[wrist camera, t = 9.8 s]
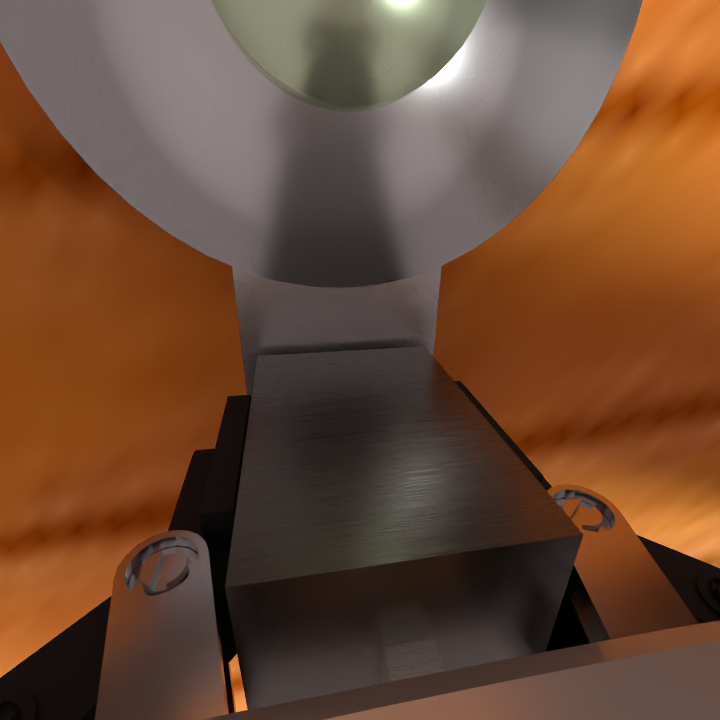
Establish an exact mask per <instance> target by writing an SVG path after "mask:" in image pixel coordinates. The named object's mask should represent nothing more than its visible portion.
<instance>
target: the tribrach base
mask: <svg viewBox="0 0 720 720" xmlns="http://www.w3.org/2000/svg"><path fill="white" fill-rule="evenodd" d="M641 4H642V0H0V43H1V45H2V46H3V48H4V50H5V51H6V53H7V55H8V57H9V58H10V60H11V62H12V63H13V65H14V67H15V68H16V70H17V72H18V73H19V75H20V77H21V79H22V80H23V82H24V84H25V85H26V87H27V88H28V90H29V91H30V92H31V94H32V95H33V96H34V98H35V99H36V101H37V102H38V103H39V105H40V106H41V107H42V109H43V110H44V112H45V113H46V114H47V116H48V117H49V118H50V120H51V121H52V123H53V124H54V125H55V127H56V128H57V129H58V131H59V132H60V134H61V135H62V136H63V137H64V138H65V139H66V140H67V141H68V143H69V144H70V145H71V146H72V147H73V148H74V149H75V150H76V152H77V153H78V154H79V155H80V156H81V157H82V158H83V159H84V161H85V162H86V163H87V164H88V165H89V166H90V167H91V168H92V170H93V171H94V172H95V173H96V174H97V175H98V176H99V177H100V178H101V179H103V180H104V181H105V182H106V183H107V184H108V185H109V186H110V187H111V188H112V189H113V190H115V191H116V192H117V193H118V194H119V195H120V196H121V197H122V198H123V199H124V200H125V201H127V202H128V203H129V204H130V205H131V206H132V207H133V208H135V209H136V210H137V211H139V212H140V213H141V214H143V215H144V216H145V217H147V218H148V219H150V220H151V221H152V222H154V223H155V224H156V225H158V226H159V227H160V228H162V229H163V230H165V231H166V232H167V233H169V234H170V235H172V236H174V237H175V238H177V239H179V240H181V241H182V242H184V243H186V244H187V245H189V246H191V247H193V248H194V249H196V250H198V251H200V252H201V253H203V254H205V255H207V256H209V257H211V258H214V259H216V260H218V261H221V262H223V263H225V264H228V265H230V266H232V271H233V279H234V287H235V296H236V304H237V312H238V321H239V329H240V337H241V346H242V354H243V363H244V371H245V379H246V388H247V395H251V397H252V392H253V385H254V378H255V370H256V363H257V356H265V355H282V354H300V353H317V352H334V351H351V350H368V349H385V348H403V347H420V346H425V348H426V349H427V350H428V351H429V352H430V354H431V355H432V356H433V353H434V343H435V332H436V321H437V311H438V300H439V289H440V278H441V268H442V265H444V264H446V263H448V262H450V261H452V260H454V259H456V258H458V257H460V256H462V255H464V254H465V253H467V252H469V251H471V250H473V249H474V248H476V247H477V246H479V245H480V244H482V243H483V242H484V241H486V240H487V239H489V238H490V237H492V236H493V235H495V234H496V233H498V232H499V231H500V230H502V229H503V228H504V227H505V226H506V225H507V224H509V223H510V222H511V221H512V220H513V219H514V218H515V217H517V216H518V215H519V214H520V213H521V212H522V211H523V210H525V209H526V208H527V207H528V206H529V205H530V204H531V203H532V202H533V200H534V199H535V198H536V197H537V196H538V195H539V194H540V193H541V192H542V191H543V190H544V189H545V187H546V186H547V185H548V184H549V183H550V182H551V181H552V180H553V179H554V177H555V176H556V175H557V173H558V172H559V171H560V169H561V168H562V167H563V165H564V164H565V163H566V161H567V160H568V159H569V157H570V156H571V155H572V153H573V152H574V151H575V149H576V148H577V146H578V145H579V143H580V141H581V140H582V138H583V136H584V135H585V133H586V132H587V130H588V128H589V127H590V125H591V123H592V122H593V120H594V118H595V117H596V115H597V113H598V112H599V110H600V108H601V106H602V104H603V101H604V99H605V97H606V95H607V93H608V91H609V89H610V87H611V85H612V83H613V81H614V79H615V77H616V75H617V72H618V70H619V68H620V65H621V62H622V60H623V57H624V54H625V52H626V49H627V46H628V44H629V41H630V39H631V36H632V33H633V31H634V28H635V25H636V22H637V18H638V15H639V11H640V7H641Z"/></svg>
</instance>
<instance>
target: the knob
mask: <svg viewBox="0 0 720 720" xmlns="http://www.w3.org/2000/svg"><path fill="white" fill-rule="evenodd" d="M582 538H583V533H582V532H581V531H580V530H579V529H578V527H577V526H576V525H575V524H574V523H573V522H572V520H571V519H570V518H569V517H568V516H567V514H566V513H565V512H564V511H563V510H562V509H561V507H560V506H559V505H558V504H557V503H556V501H555V500H554V499H553V498H552V497H551V496H550V494H549V493H548V492H547V491H546V490H545V488H544V487H543V486H542V485H541V484H540V483H539V481H538V480H537V479H536V478H535V477H534V475H533V474H532V473H531V472H530V471H529V469H528V468H527V467H526V466H525V465H524V464H523V462H522V461H521V460H520V459H519V458H518V456H517V455H516V454H515V453H514V452H513V451H512V449H511V448H510V447H509V446H508V445H507V443H506V442H505V441H504V440H503V439H502V438H501V436H500V435H499V434H498V433H497V432H496V430H495V429H494V428H493V427H492V426H491V425H490V423H489V422H488V421H487V420H486V419H485V417H484V416H483V415H482V414H481V413H480V412H479V410H478V409H477V408H476V407H475V406H474V404H473V403H472V402H471V401H470V400H469V399H468V397H467V396H466V395H465V394H464V393H463V391H462V390H461V389H460V388H459V387H458V386H457V384H456V383H455V382H454V381H453V380H452V378H451V377H450V376H449V375H448V374H447V373H446V371H445V370H444V369H443V368H442V367H441V365H440V364H439V363H438V362H437V361H436V359H435V358H434V357H433V356H432V355H431V354H430V352H429V351H428V350H427V349H426V348H425V346H420V347H403V348H385V349H368V350H351V351H334V352H317V353H300V354H282V355H265V356H257V363H256V370H255V378H254V385H253V392H252V399H251V406H250V413H249V420H248V427H247V434H246V441H245V449H244V456H243V463H242V470H241V477H240V484H239V491H238V498H237V505H236V512H235V520H234V527H233V534H232V541H231V548H230V555H229V562H228V569H227V576H226V583H225V591H226V596H227V602H228V607H229V612H230V618H231V623H232V628H233V634H234V639H235V644H236V649H237V655H238V660H239V665H240V671H241V676H242V681H243V687H244V692H245V697H246V703H247V708H248V710H251V709H256V708H261V707H266V706H271V705H276V704H281V703H286V702H291V701H296V700H301V699H306V698H311V697H316V696H321V695H326V694H331V693H336V692H341V691H346V690H351V689H356V688H361V687H366V686H372V685H377V684H382V683H387V682H392V681H397V680H402V679H407V678H413V677H418V676H423V675H428V674H433V673H438V672H444V671H449V670H454V669H459V668H464V667H469V666H475V665H480V664H485V663H490V662H495V661H501V660H506V659H511V658H516V657H521V656H527V655H532V654H537V653H542V652H545V651H546V648H547V645H548V642H549V639H550V636H551V633H552V630H553V626H554V623H555V620H556V617H557V614H558V611H559V608H560V605H561V602H562V599H563V596H564V593H565V590H566V587H567V584H568V581H569V578H570V575H571V572H572V568H573V565H574V562H575V559H576V556H577V553H578V550H579V547H580V544H581V541H582Z"/></svg>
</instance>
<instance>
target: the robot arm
mask: <svg viewBox="0 0 720 720" xmlns="http://www.w3.org/2000/svg"><path fill="white" fill-rule="evenodd" d="M454 382H455V383H456V384H457V386H458V387H459V388H460V389H461V390H462V391H463V393H464V394H465V395H466V396H467V397H468V399H469V400H470V401H471V402H472V403H473V404H474V406H475V407H476V408H477V409H478V410H479V412H480V413H481V414H482V415H483V416H484V417H485V419H486V420H487V421H488V422H489V423H490V425H491V426H492V427H493V428H494V429H495V430H496V432H497V433H498V434H499V435H500V436H501V438H502V439H503V440H504V441H505V442H506V443H507V445H508V446H509V447H510V448H511V449H512V451H513V452H514V453H515V454H516V455H517V456H518V458H519V459H520V460H521V461H522V462H523V464H524V465H525V466H526V467H527V468H528V469H529V471H530V472H531V473H532V474H533V475H534V477H535V478H536V479H537V480H538V481H539V483H540V484H541V485H542V486H543V487H544V488H545V490H546V491H547V492H548V493H549V494H550V496H551V497H552V498H553V499H554V500H555V501H556V503H557V504H558V505H559V506H560V507H561V509H562V510H563V511H564V512H565V513H566V514H567V516H568V517H569V518H570V519H571V520H572V522H573V523H574V524H575V525H576V526H577V527H578V529H579V530H580V531H581V532H582V533H583V538H582V541H581V544H580V547H579V550H578V553H577V556H576V559H575V562H574V565H573V568H572V572H571V575H570V578H569V581H568V584H567V587H566V590H565V593H564V596H563V599H562V602H561V605H560V608H559V611H558V614H557V617H556V620H555V623H554V626H553V630H552V633H551V636H550V639H549V642H548V645H547V648H546V651H545V652H542V653H537V654H532V655H527V656H521V657H516V658H511V659H506V660H501V661H495V662H490V663H485V664H480V665H475V666H469V667H464V668H459V669H454V670H449V671H444V672H438V673H433V674H428V675H423V676H418V677H413V678H407V679H402V680H397V681H392V682H387V683H382V684H377V685H372V686H366V687H361V688H356V689H351V690H346V691H341V692H336V693H331V694H326V695H321V696H316V697H311V698H306V699H301V700H296V701H291V702H286V703H281V704H276V705H271V706H266V707H261V708H256V709H251V710H246V711H241V712H236V708H235V700H234V692H233V684H232V676H231V668H230V661H231V660H232V658H233V657H234V656H235V655H236V654H237V649H236V644H235V639H234V634H233V628H232V623H231V618H230V612H229V607H228V602H227V596H226V591H225V583H226V576H227V569H228V562H229V555H230V548H231V541H232V534H233V527H234V520H235V512H236V505H237V498H238V491H239V484H240V477H241V470H242V463H243V456H244V449H245V441H246V434H247V427H248V420H249V413H250V406H251V399H252V397H251V395H241V396H228V399H227V403H226V407H225V411H224V415H223V419H222V423H221V427H220V431H219V435H218V439H217V443H216V447H215V449H205V450H196V451H195V452H194V454H193V456H192V459H191V462H190V465H189V468H188V471H187V474H186V477H185V480H184V484H183V487H182V490H181V493H180V496H179V499H178V502H177V505H176V508H175V511H174V514H173V518H172V521H171V524H170V527H169V530H168V532H163V533H160V534H158V535H155V536H152V537H150V538H148V539H147V540H145V541H143V542H142V543H140V544H138V545H137V546H136V547H135V548H134V549H132V550H131V551H130V552H129V553H128V554H127V555H126V556H125V557H124V559H123V560H122V562H121V563H120V565H119V566H118V568H117V571H116V574H115V577H114V581H113V589H112V596H111V597H109V598H108V599H107V600H105V601H104V602H102V603H101V604H100V605H98V606H97V607H96V608H94V609H93V610H92V611H90V612H89V613H88V614H86V615H85V616H84V617H82V618H81V619H79V620H78V621H77V622H75V623H74V624H73V625H71V626H70V627H69V628H67V629H66V630H65V631H63V632H62V633H61V634H59V635H58V636H56V637H55V638H54V639H52V640H51V641H50V642H48V643H47V644H46V645H44V646H43V647H42V648H40V649H39V650H38V651H36V652H35V653H33V654H32V655H31V656H29V657H28V658H27V659H25V660H24V661H23V662H21V663H20V664H19V665H17V666H16V667H15V668H13V669H12V670H10V671H9V672H8V673H6V674H5V675H4V676H2V677H1V678H0V720H720V568H718V567H715V566H713V565H710V564H708V563H705V562H703V561H700V560H698V559H695V558H693V557H690V556H688V555H685V554H683V553H680V552H678V551H675V550H673V549H670V548H668V547H666V546H663V545H661V544H658V543H656V542H653V541H651V540H648V539H646V538H643V537H641V536H638V535H636V534H635V532H634V531H633V529H632V528H631V527H630V525H629V524H628V522H627V521H626V520H625V518H624V517H623V515H622V514H621V512H620V511H619V510H618V509H617V508H616V507H615V506H614V505H613V503H611V502H610V501H609V500H607V499H606V498H605V497H603V496H602V495H600V494H598V493H596V492H594V491H592V490H589V489H586V488H583V487H580V486H574V485H557V486H554V487H552V486H551V485H550V484H549V483H548V482H547V481H546V480H545V478H544V477H543V475H542V474H541V473H540V471H539V470H538V469H537V468H536V467H535V466H534V465H533V463H532V462H531V461H530V460H529V459H528V458H527V457H526V455H525V454H524V453H523V452H522V451H521V450H520V449H519V447H518V446H517V445H516V444H515V443H514V442H513V441H512V440H511V438H510V437H509V436H508V435H507V434H506V433H505V432H504V430H503V429H502V428H501V427H500V426H499V425H498V424H497V422H496V421H495V420H494V419H493V418H492V417H491V416H490V414H489V413H488V412H487V411H486V410H485V409H484V408H483V406H482V405H481V404H480V403H479V402H478V401H477V400H476V398H475V397H474V396H473V395H472V394H471V393H470V392H469V390H468V389H467V388H466V387H465V386H464V385H463V384H462V382H460V381H454Z"/></svg>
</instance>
